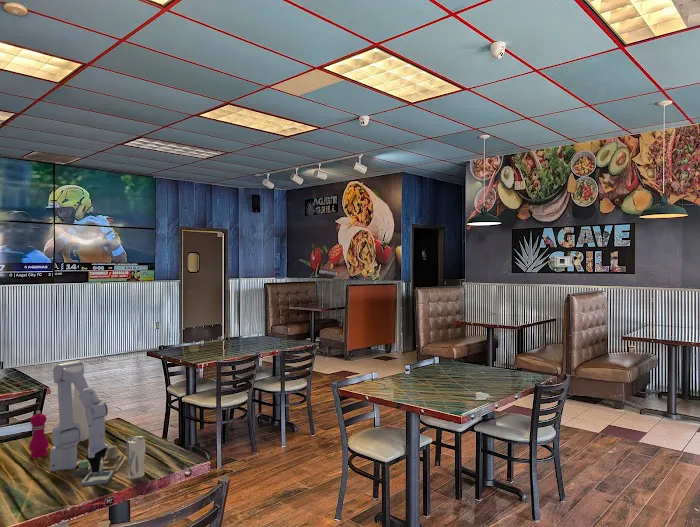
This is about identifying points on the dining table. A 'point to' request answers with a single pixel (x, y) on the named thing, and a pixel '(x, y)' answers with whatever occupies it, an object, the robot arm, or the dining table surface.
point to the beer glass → (135, 456)
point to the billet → (99, 469)
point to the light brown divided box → (113, 459)
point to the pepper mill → (38, 436)
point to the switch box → (83, 471)
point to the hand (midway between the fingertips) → (97, 469)
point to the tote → (97, 478)
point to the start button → (84, 464)
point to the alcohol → (80, 415)
